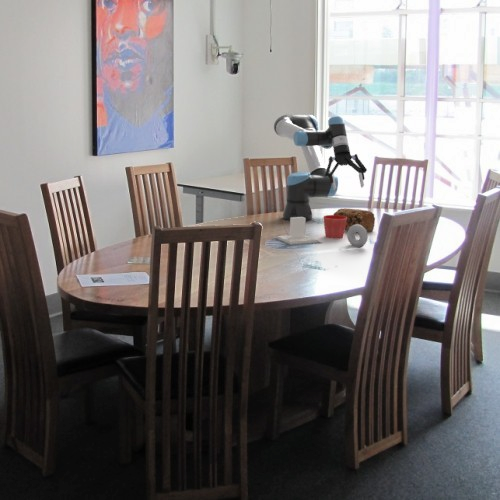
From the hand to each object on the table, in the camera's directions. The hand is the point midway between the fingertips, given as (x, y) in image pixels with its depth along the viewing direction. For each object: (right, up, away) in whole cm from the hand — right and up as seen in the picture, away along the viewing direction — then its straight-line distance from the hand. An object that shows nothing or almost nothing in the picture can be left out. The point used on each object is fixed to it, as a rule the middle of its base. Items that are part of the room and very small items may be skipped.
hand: (348, 187), depth 384 cm
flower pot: (-9, -24, -17) cm, 31 cm away
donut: (-1, -29, -36) cm, 46 cm away
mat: (-26, -26, -27) cm, 46 cm away
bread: (+2, -20, +4) cm, 20 cm away
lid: (-26, -25, -27) cm, 46 cm away
